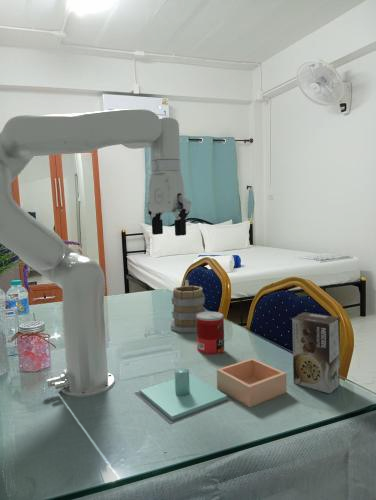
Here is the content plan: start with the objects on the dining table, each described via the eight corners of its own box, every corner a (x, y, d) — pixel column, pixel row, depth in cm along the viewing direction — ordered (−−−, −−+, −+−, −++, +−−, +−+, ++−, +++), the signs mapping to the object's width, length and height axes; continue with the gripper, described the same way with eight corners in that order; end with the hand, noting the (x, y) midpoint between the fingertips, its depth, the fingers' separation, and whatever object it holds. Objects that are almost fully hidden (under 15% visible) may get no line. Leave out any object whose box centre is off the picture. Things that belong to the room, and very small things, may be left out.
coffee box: (340, 384, 91) (341, 317, 89) (329, 394, 86) (330, 324, 84) (304, 374, 97) (303, 311, 95) (291, 383, 92) (291, 317, 90)
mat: (170, 427, 75) (170, 424, 75) (134, 395, 89) (134, 392, 89) (233, 402, 84) (233, 399, 84) (192, 376, 97) (192, 374, 97)
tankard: (207, 332, 131) (206, 289, 130) (170, 333, 132) (168, 290, 130) (206, 316, 151) (205, 278, 149) (173, 316, 151) (172, 279, 150)
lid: (172, 420, 77) (170, 392, 76) (140, 393, 88) (139, 368, 88) (227, 399, 84) (226, 373, 84) (191, 376, 96) (190, 354, 95)
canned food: (222, 356, 110) (221, 319, 108) (195, 355, 111) (193, 318, 110) (225, 347, 117) (224, 311, 116) (199, 346, 119) (198, 311, 118)
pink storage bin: (249, 410, 81) (249, 387, 80) (217, 390, 90) (216, 369, 89) (286, 394, 87) (286, 373, 86) (252, 377, 96) (252, 358, 95)
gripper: (135, 171, 104) (138, 234, 106) (176, 164, 91) (178, 237, 93) (157, 172, 109) (160, 232, 111) (199, 165, 96) (201, 234, 98)
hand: (168, 234), depth 102 cm, fingers open, 9 cm apart
